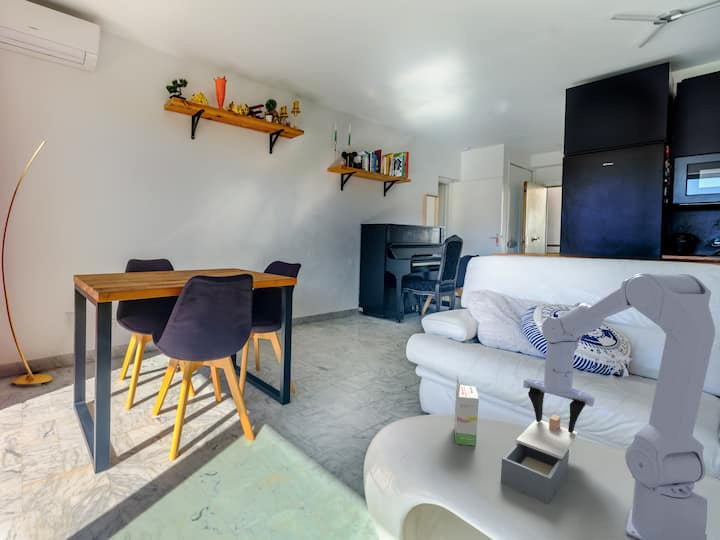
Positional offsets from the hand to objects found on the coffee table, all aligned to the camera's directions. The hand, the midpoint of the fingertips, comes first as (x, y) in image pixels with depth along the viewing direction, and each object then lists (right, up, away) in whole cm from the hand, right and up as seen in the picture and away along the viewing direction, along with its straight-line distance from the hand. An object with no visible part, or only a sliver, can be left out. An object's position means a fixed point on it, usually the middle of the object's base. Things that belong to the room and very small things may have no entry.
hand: (554, 425), depth 86 cm
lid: (-4, -1, -4) cm, 5 cm away
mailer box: (-9, -7, -9) cm, 15 cm away
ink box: (-19, -6, +6) cm, 21 cm away
